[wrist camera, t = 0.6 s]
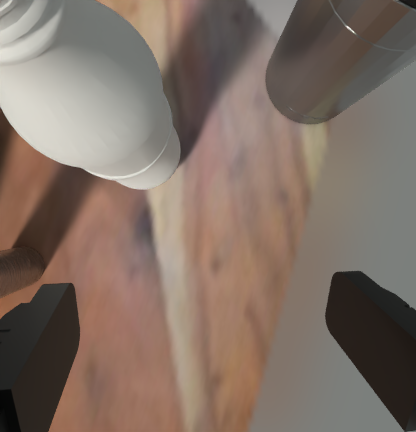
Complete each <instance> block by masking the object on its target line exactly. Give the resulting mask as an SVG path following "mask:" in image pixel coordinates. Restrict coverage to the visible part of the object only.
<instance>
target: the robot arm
mask: <svg viewBox="0 0 416 432" xmlns="http://www.w3.org/2000/svg"><path fill="white" fill-rule="evenodd" d="M414 61H416V0H298V1H297V3H296V5H295V7H294V9H293V11H292V13H291V15H290V18H289V20H288V22H287V24H286V26H285V28H284V30H283V33H282V35H281V36H280V39H279V41H278V43H277V45H276V47H275V49H274V51H273V54H272V56H271V58H270V60H269V63H268V66H267V70H266V87H267V91H268V94H269V97H270V99H271V101H272V103H273V104H274V106H275V107H276V108H277V109H278V110H279V111H280V112H281V113H282V114H283V115H284V116H286V117H287V118H289V119H291V120H293V121H296V122H298V123H303V124H318V123H322V122H326V121H328V120H330V119H332V118H334V117H335V116H337V115H338V114H340V113H341V112H342V111H344V110H345V109H347V108H348V107H349V106H351V105H353V104H354V103H356V102H357V101H358V100H360V99H361V98H363V97H364V96H365V95H367V94H368V93H370V92H371V91H373V90H374V89H375V88H377V87H379V86H380V85H381V84H383V83H384V82H386V81H387V80H388V79H390V78H391V77H393V76H394V75H396V74H397V73H398V72H400V71H401V70H403V69H404V68H406V67H407V66H408V65H410V64H411V63H413V62H414ZM325 314H326V315H325V317H326V324H327V327H328V330H329V331H330V333H331V335H332V336H333V337H334V339H335V340H336V341H337V343H338V344H339V345H340V347H341V348H342V349H343V351H344V352H345V353H346V355H347V356H348V357H349V359H350V360H351V361H352V362H353V364H354V365H355V366H356V368H357V369H358V370H359V372H360V373H361V374H362V376H363V377H364V378H365V380H366V381H367V382H368V383H369V385H370V386H371V388H372V389H373V390H374V392H375V393H376V394H377V396H378V397H379V398H380V399H381V401H382V402H383V403H384V405H385V406H386V408H387V409H388V410H389V411H390V413H391V414H392V415H393V417H394V418H395V419H396V421H397V422H398V423H399V425H400V426H401V427H402V429H403V430H404V431H405V432H407V431H415V430H416V310H415V309H413V308H412V307H411V308H410V307H409V305H408V304H407V303H406V302H405V301H403V300H402V299H401V298H400V297H398V296H397V295H396V294H394V293H392V292H390V291H388V290H386V289H383V288H382V287H380V286H379V285H378V284H377V283H375V282H374V281H373V280H372V279H370V278H369V277H368V276H366V275H365V274H364V273H362V272H361V271H348V272H336V273H335V274H334V275H333V277H332V280H331V286H330V292H329V296H328V303H327V307H326V313H325ZM79 340H80V326H79V318H78V310H77V302H76V294H75V288H74V285H73V284H72V283H58V284H43V285H42V286H41V287H40V289H39V290H38V291H37V293H36V294H35V296H34V297H33V299H32V300H31V301H30V303H21V304H19V305H18V306H16V307H15V308H14V309H12V310H11V311H9V312H8V313H6V314H5V315H4V316H3V317H2V318H1V319H0V432H48V431H49V428H50V425H51V423H52V420H53V417H54V414H55V412H56V409H57V406H58V403H59V400H60V398H61V395H62V392H63V389H64V387H65V384H66V381H67V378H68V376H69V373H70V370H71V367H72V364H73V362H74V359H75V356H76V353H77V350H78V346H79Z"/></svg>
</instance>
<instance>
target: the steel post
mask: <svg viewBox="0 0 416 432" xmlns="http://www.w3.org/2000/svg"><path fill="white" fill-rule="evenodd" d="M43 271H44V262H43V259H42V257H41V255H40V254H39V253H38V252H37V251H36V250H34V249H32V248H30V247H18V248H12V249H7V250H2V251H0V298H2V297H5V296H7V295H9V294H11V293H14V292H16V291H18V290H21V289H23V288H25V287H28V286H30V285H32V284H34V283H36V282H37V281H38V280H39V279H40V278H41V276H42V274H43Z"/></svg>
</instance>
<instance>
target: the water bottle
mask: <svg viewBox="0 0 416 432" xmlns="http://www.w3.org/2000/svg"><path fill="white" fill-rule="evenodd" d="M0 107H1V109H2V111H3V113H4V114H5V116H6V118H7V119H8V121H9V123H10V124H11V125H12V126H13V128H14V129H15V130H16V131H17V133H18V134H19V135H20V136H21V137H22V138H23V139H24V140H25V141H26V142H28V143H29V144H30V145H31V146H32V147H33V148H35V149H36V150H37V151H39V152H41V153H42V154H44V155H45V156H47V157H49V158H51V159H53V160H55V161H57V162H59V163H62V164H66V165H69V166H73V167H80V168H83V169H84V170H86V171H87V172H89V173H91V174H93V175H96V176H99V177H101V178H104V179H108V180H116V181H117V182H119V183H120V184H122V185H124V186H127V187H130V188H134V189H151V188H155V187H157V186H159V185H161V184H162V183H164V182H166V181H167V180H169V179H170V177H171V176H172V175H173V174H174V172H175V170H176V169H177V167H178V164H179V161H180V154H181V148H180V142H179V138H178V135H177V132H176V130H175V128H174V127H173V125H172V113H171V109H170V105H169V103H168V100H167V98H166V96H165V94H164V93H163V84H162V76H161V73H160V70H159V67H158V64H157V61H156V59H155V57H154V55H153V53H152V51H151V49H150V48H149V46H148V45H147V43H146V41H145V40H144V38H143V37H142V36H141V35H140V34H139V32H138V31H137V30H136V29H135V28H134V27H133V26H132V25H131V24H130V23H129V22H128V21H127V20H125V19H124V18H123V17H121V16H120V15H119V14H117V13H116V12H115V11H113V10H112V9H111V8H109V7H107V6H105V5H103V4H101V3H99V2H97V1H95V0H0Z"/></svg>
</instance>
